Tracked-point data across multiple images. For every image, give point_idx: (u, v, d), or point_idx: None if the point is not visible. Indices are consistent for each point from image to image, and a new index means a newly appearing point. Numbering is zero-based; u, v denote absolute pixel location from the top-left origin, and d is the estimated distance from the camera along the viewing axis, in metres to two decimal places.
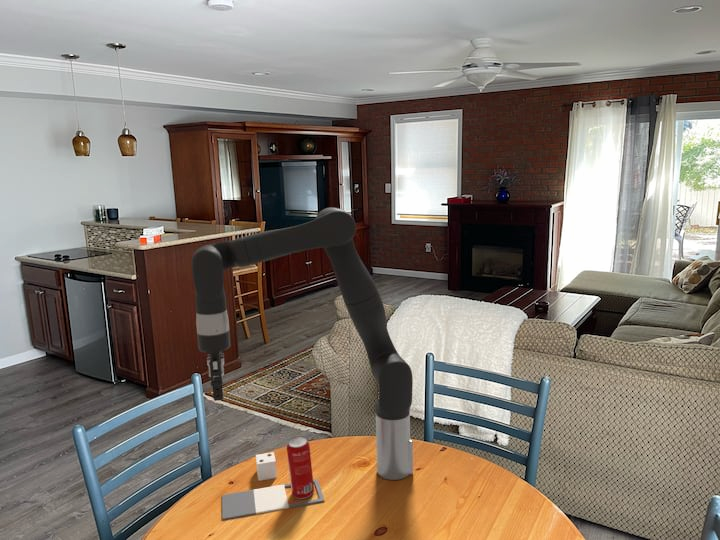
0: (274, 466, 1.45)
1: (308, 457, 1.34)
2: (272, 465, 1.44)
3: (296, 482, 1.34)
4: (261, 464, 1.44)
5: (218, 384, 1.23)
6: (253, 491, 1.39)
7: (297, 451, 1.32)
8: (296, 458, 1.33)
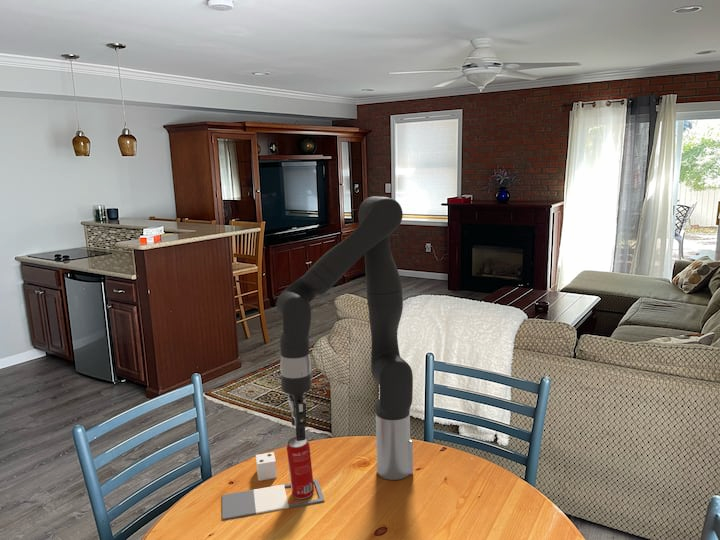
0: (274, 466, 1.45)
1: (308, 457, 1.34)
2: (272, 465, 1.44)
3: (296, 482, 1.34)
4: (261, 464, 1.44)
5: (303, 426, 1.27)
6: (253, 491, 1.39)
7: (297, 451, 1.32)
8: (296, 458, 1.33)
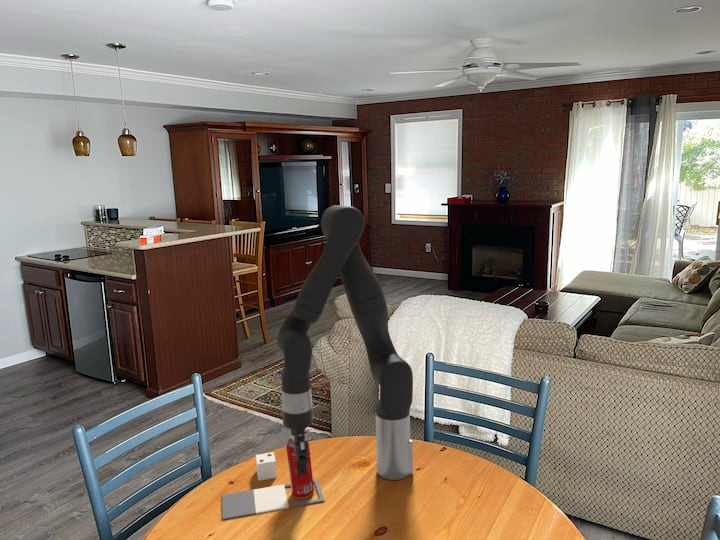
0: (274, 466, 1.45)
1: (308, 457, 1.34)
2: (272, 465, 1.44)
3: (296, 481, 1.34)
4: (261, 464, 1.44)
5: (304, 461, 1.30)
6: (253, 491, 1.39)
7: None
8: (295, 458, 1.33)
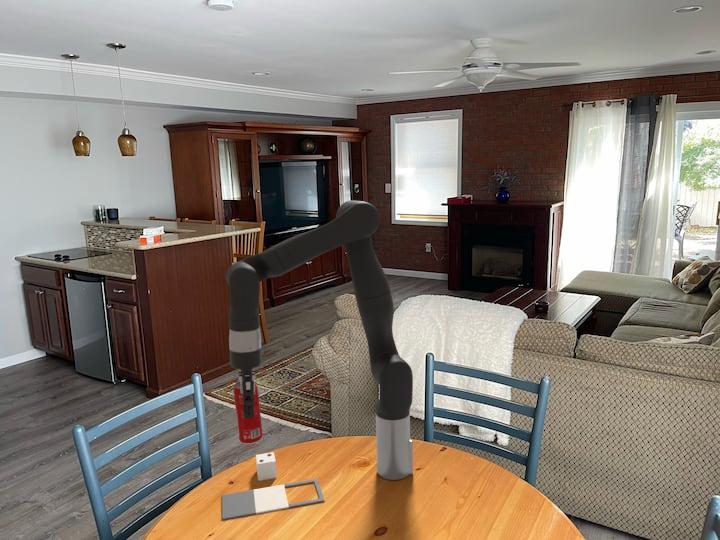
0: (274, 466, 1.45)
1: (256, 400, 1.28)
2: (272, 465, 1.44)
3: (243, 426, 1.28)
4: (261, 464, 1.44)
5: (250, 402, 1.24)
6: (253, 491, 1.39)
7: None
8: (242, 400, 1.27)
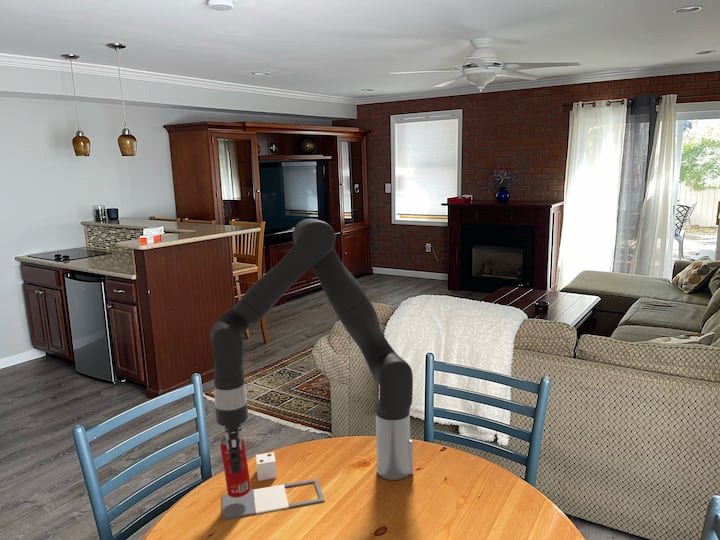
0: (274, 466, 1.45)
1: (242, 455, 1.30)
2: (272, 465, 1.44)
3: (230, 480, 1.30)
4: (261, 464, 1.44)
5: (236, 459, 1.25)
6: (253, 491, 1.39)
7: None
8: (229, 456, 1.28)
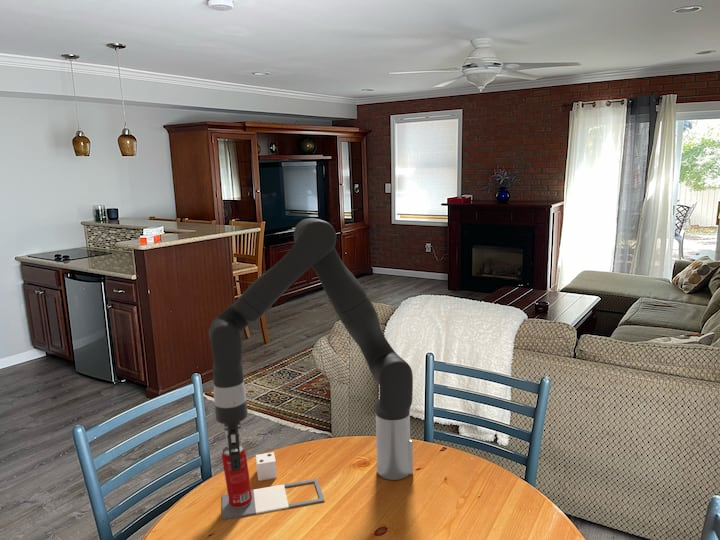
0: (274, 466, 1.45)
1: (244, 465, 1.31)
2: (272, 465, 1.44)
3: (232, 490, 1.30)
4: (261, 464, 1.44)
5: (236, 456, 1.24)
6: (253, 491, 1.39)
7: None
8: (230, 467, 1.29)
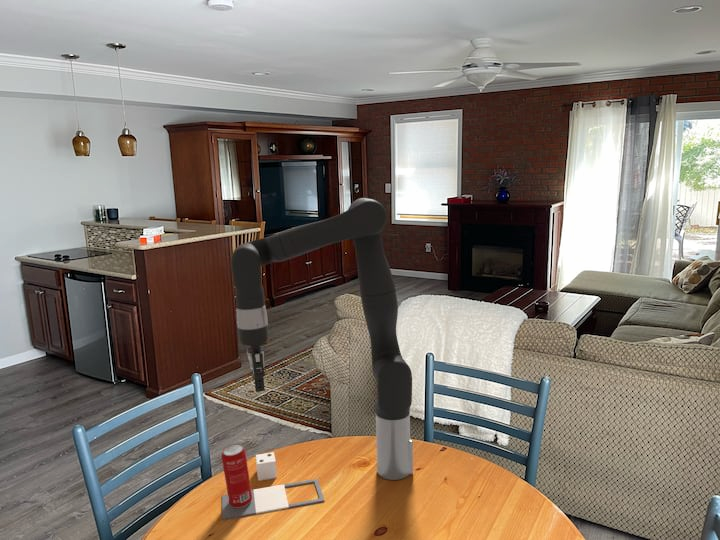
0: (274, 466, 1.45)
1: (244, 465, 1.30)
2: (272, 465, 1.44)
3: (232, 491, 1.30)
4: (261, 464, 1.44)
5: (260, 376, 1.29)
6: (253, 491, 1.39)
7: (231, 460, 1.28)
8: (230, 467, 1.29)
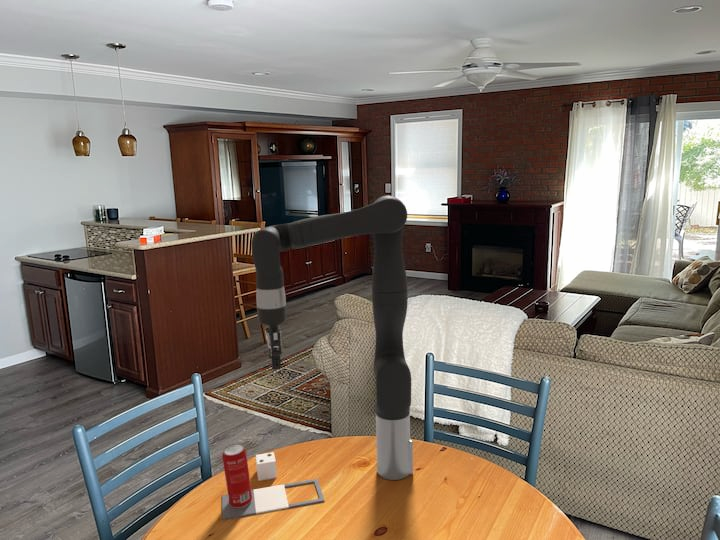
0: (274, 466, 1.45)
1: (244, 465, 1.31)
2: (272, 465, 1.44)
3: (232, 490, 1.30)
4: (261, 464, 1.44)
5: (278, 353, 1.34)
6: (253, 491, 1.39)
7: (232, 459, 1.28)
8: (231, 467, 1.29)
